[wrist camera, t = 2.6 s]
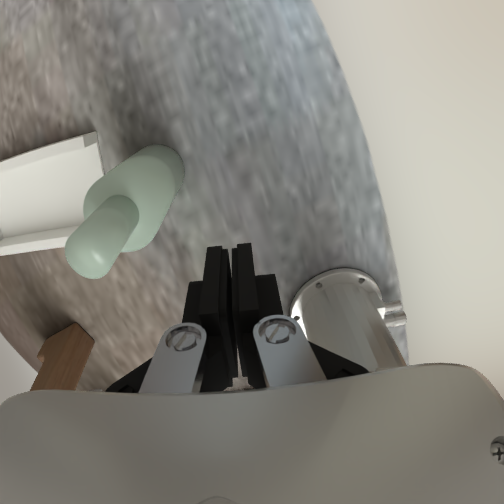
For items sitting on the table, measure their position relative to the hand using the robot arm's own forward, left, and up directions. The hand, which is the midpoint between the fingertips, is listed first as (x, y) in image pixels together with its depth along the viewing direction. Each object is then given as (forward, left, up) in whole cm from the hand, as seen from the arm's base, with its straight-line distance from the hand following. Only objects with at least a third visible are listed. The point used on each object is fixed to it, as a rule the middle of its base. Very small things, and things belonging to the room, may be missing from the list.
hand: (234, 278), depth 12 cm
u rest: (+24, 0, -22) cm, 33 cm away
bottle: (+8, 0, -22) cm, 23 cm away
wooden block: (+29, +23, -22) cm, 43 cm away
